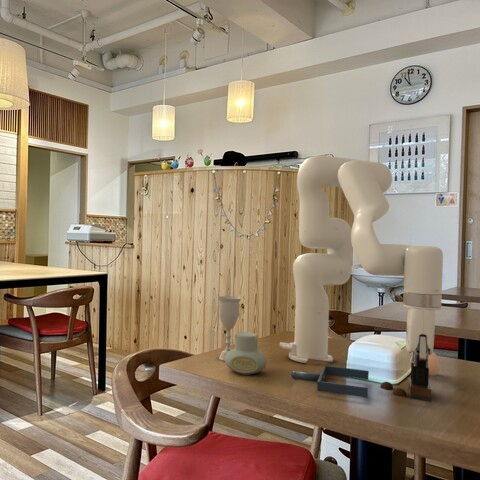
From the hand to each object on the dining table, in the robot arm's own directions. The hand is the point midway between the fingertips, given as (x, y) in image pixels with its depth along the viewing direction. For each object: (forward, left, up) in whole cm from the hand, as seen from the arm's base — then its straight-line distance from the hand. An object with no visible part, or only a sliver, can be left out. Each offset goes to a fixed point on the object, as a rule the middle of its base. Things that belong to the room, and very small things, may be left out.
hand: (419, 382), depth 108 cm
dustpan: (-19, 0, -4) cm, 20 cm away
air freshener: (-40, +4, -4) cm, 41 cm away
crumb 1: (-6, +2, -3) cm, 7 cm away
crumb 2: (-4, -2, -3) cm, 5 cm away
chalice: (-48, +15, -4) cm, 51 cm away
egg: (+4, +22, -4) cm, 23 cm away
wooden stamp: (0, 0, -4) cm, 4 cm away
